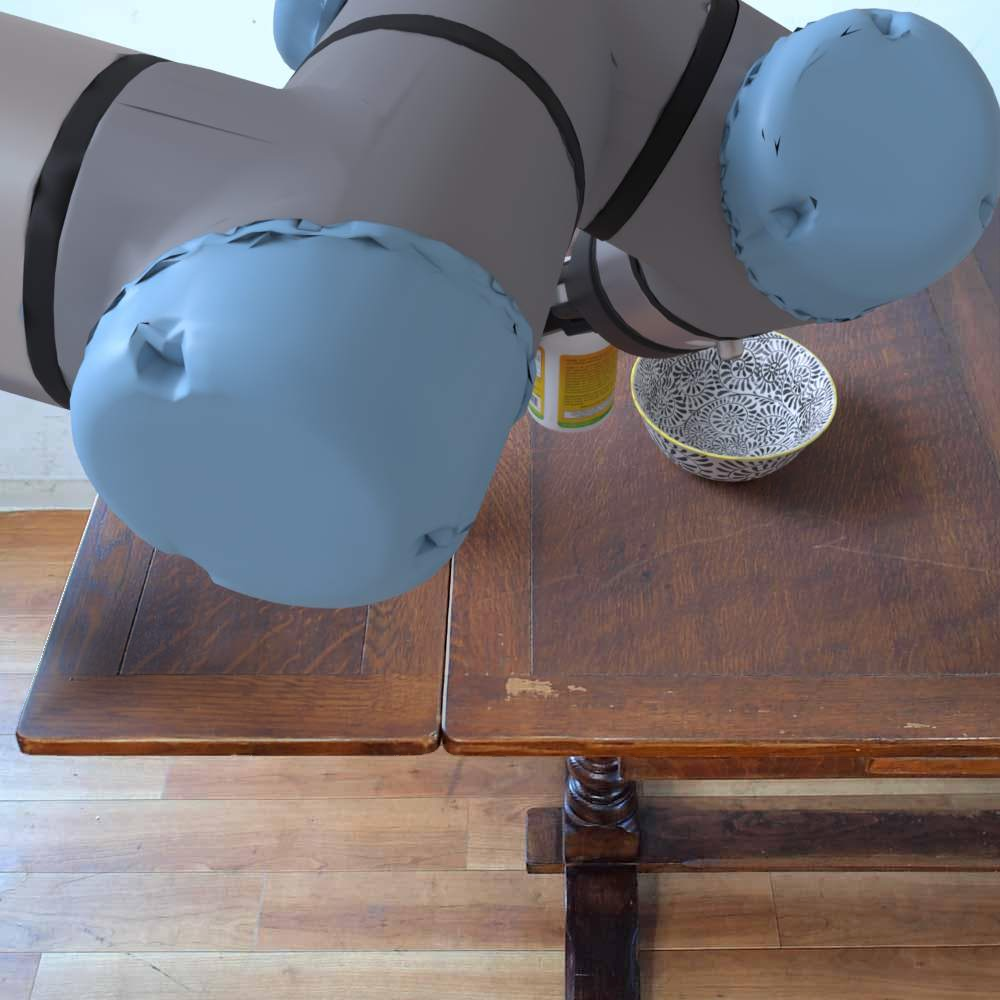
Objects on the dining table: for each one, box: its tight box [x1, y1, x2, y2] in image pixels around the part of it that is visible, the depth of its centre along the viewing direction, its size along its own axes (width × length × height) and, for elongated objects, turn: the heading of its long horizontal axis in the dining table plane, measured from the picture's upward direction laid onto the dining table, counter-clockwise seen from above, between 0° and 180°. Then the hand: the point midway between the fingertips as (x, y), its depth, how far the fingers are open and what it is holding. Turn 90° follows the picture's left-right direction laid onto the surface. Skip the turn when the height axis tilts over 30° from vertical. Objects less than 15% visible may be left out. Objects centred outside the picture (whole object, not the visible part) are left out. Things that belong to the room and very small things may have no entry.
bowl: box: [630, 330, 838, 483], centre depth 84 cm, size 16×16×8 cm
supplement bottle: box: [527, 255, 619, 434], centre depth 60 cm, size 5×5×10 cm
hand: (553, 323), depth 63 cm, fingers closed on supplement bottle, 5 cm apart
